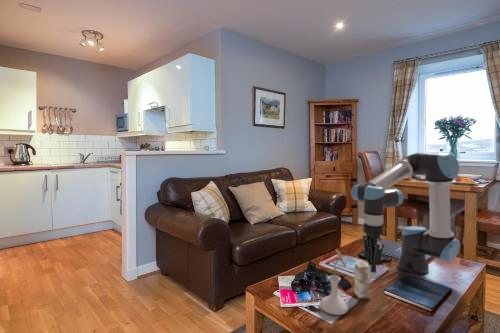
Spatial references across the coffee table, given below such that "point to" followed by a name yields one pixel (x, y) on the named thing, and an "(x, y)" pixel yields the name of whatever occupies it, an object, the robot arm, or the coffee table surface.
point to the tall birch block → (362, 281)
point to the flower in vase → (334, 294)
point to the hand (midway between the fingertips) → (371, 278)
